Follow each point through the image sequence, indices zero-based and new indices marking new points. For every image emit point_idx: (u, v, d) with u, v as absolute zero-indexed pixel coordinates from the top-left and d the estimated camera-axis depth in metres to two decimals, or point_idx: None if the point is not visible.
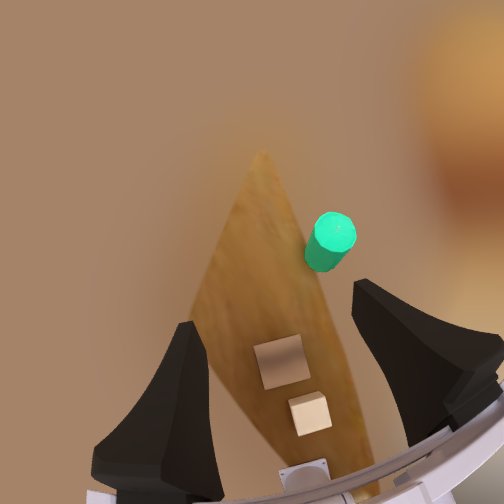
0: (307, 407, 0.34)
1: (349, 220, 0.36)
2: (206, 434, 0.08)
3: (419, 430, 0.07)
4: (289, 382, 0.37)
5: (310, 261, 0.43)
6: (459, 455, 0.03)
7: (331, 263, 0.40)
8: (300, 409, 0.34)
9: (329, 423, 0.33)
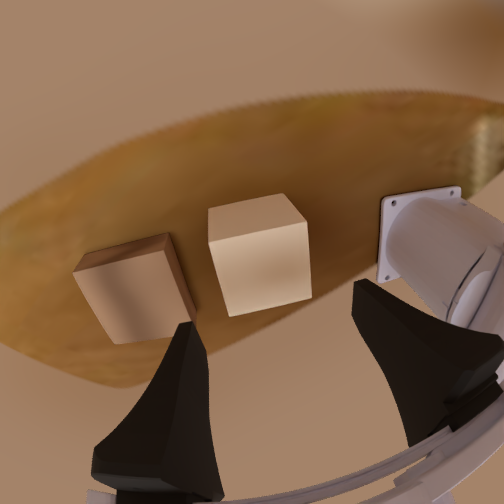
0: (236, 284, 0.15)
1: None
2: (206, 434, 0.08)
3: (419, 430, 0.07)
4: (176, 293, 0.17)
5: None
6: (459, 455, 0.03)
7: None
8: (239, 298, 0.15)
9: (297, 228, 0.14)
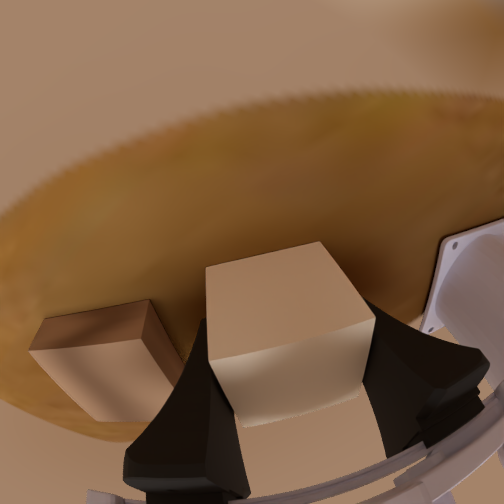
0: (254, 401, 0.09)
1: None
2: (233, 430, 0.08)
3: (395, 442, 0.07)
4: (166, 384, 0.11)
5: None
6: (460, 456, 0.03)
7: None
8: (258, 412, 0.09)
9: (358, 329, 0.08)
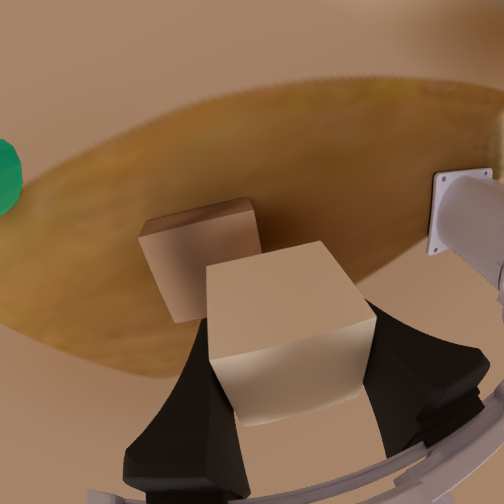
0: (255, 400, 0.09)
1: None
2: (233, 430, 0.08)
3: (395, 442, 0.07)
4: None
5: None
6: (459, 456, 0.03)
7: None
8: (259, 412, 0.09)
9: (359, 328, 0.08)
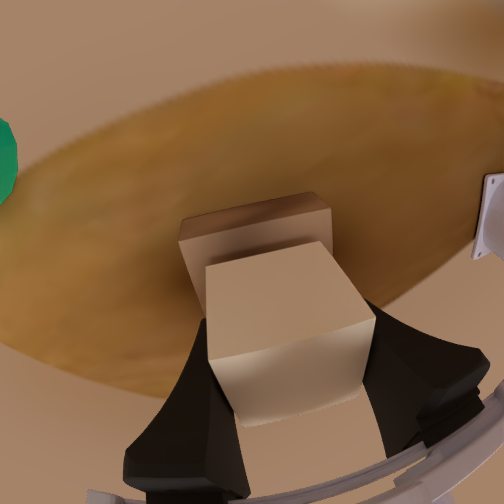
0: (254, 401, 0.09)
1: None
2: (233, 430, 0.08)
3: (395, 442, 0.07)
4: None
5: None
6: (459, 455, 0.03)
7: None
8: (258, 412, 0.09)
9: (359, 329, 0.08)
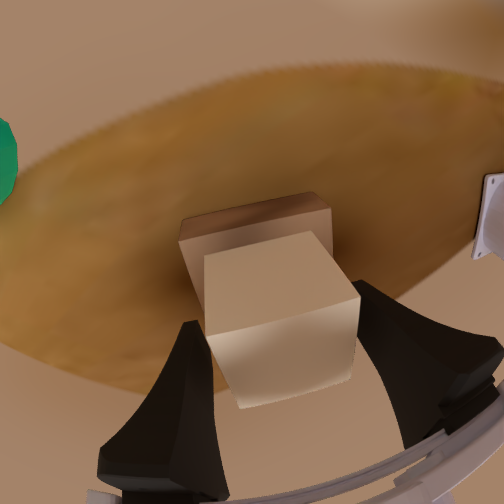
0: (249, 379, 0.09)
1: None
2: (211, 433, 0.08)
3: (414, 432, 0.07)
4: None
5: None
6: (460, 455, 0.03)
7: None
8: (254, 392, 0.10)
9: (345, 307, 0.08)
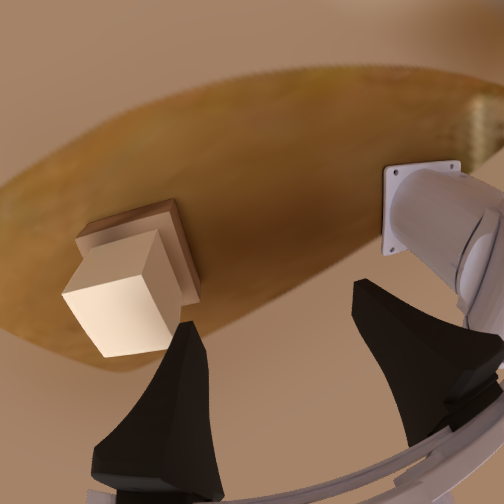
0: (97, 330, 0.13)
1: None
2: (206, 434, 0.08)
3: (419, 430, 0.07)
4: (180, 258, 0.17)
5: None
6: (460, 455, 0.03)
7: None
8: (106, 343, 0.14)
9: (133, 282, 0.12)
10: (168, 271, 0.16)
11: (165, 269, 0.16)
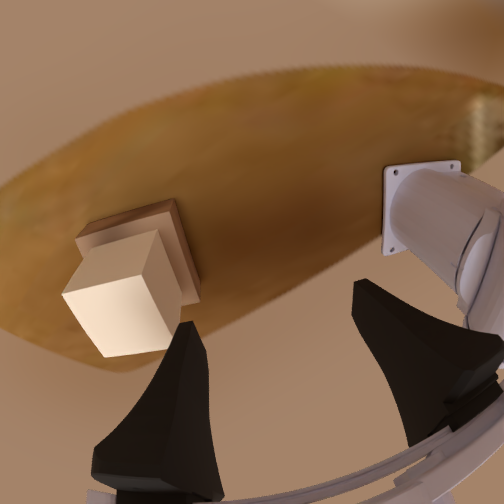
0: (97, 330, 0.13)
1: None
2: (206, 434, 0.08)
3: (419, 430, 0.07)
4: (180, 258, 0.17)
5: None
6: (460, 455, 0.03)
7: None
8: (106, 343, 0.14)
9: (133, 282, 0.12)
10: (168, 271, 0.16)
11: (165, 269, 0.16)
